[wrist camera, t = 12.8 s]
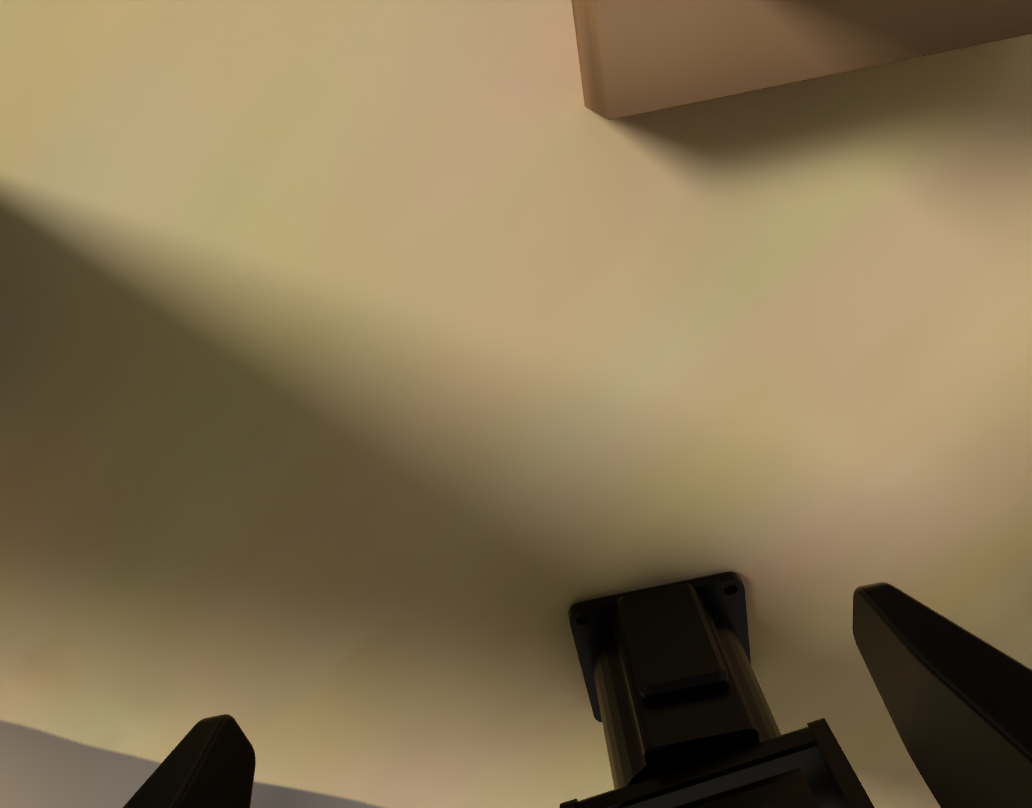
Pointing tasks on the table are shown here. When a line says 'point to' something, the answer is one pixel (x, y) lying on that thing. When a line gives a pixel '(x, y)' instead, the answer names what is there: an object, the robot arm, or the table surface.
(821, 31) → the walnut block
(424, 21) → the table surface
